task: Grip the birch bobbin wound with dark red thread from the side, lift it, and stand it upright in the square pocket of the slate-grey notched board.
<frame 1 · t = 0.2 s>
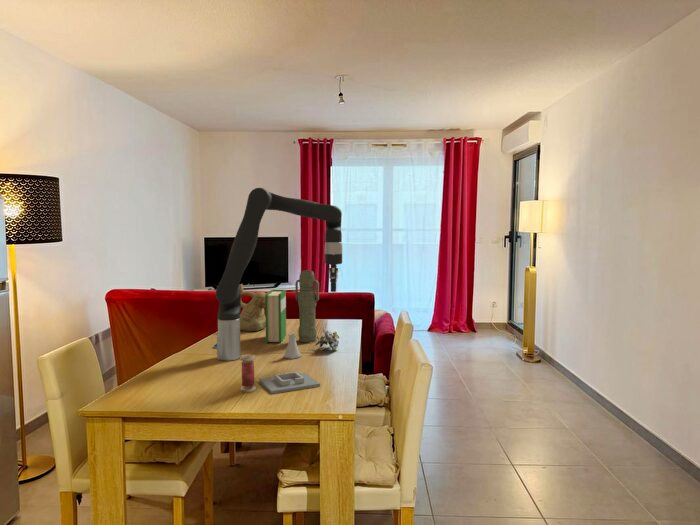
hand: (333, 290, 213), 29 cm above the table, tool pointing down, fingers open, 8 cm apart
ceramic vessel: (252, 329, 273), on the table
smartphone: (224, 345, 238), on the table
flask: (292, 357, 215), on the table
passion flower: (327, 350, 227), on the table
bobbin: (248, 390, 172), on the table
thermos: (307, 341, 245), on the table
board: (289, 383, 179), on the table
hardback book: (276, 339, 249), on the table
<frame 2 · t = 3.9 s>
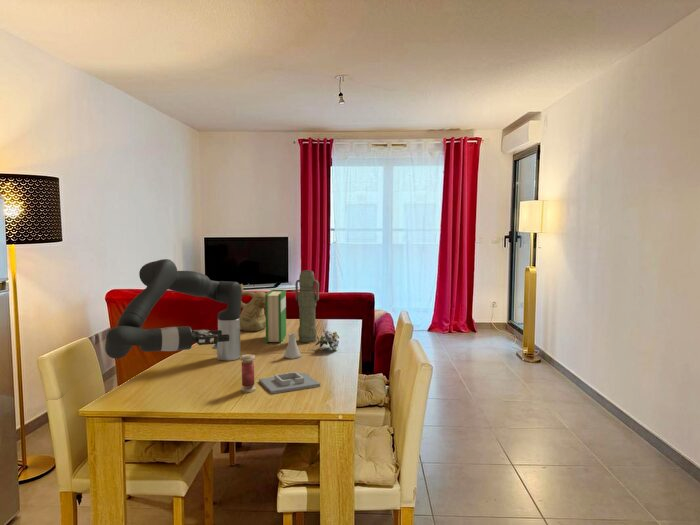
hand: (225, 335, 166), 20 cm above the table, tool horizontal, fingers open, 8 cm apart
nothing on the table moved.
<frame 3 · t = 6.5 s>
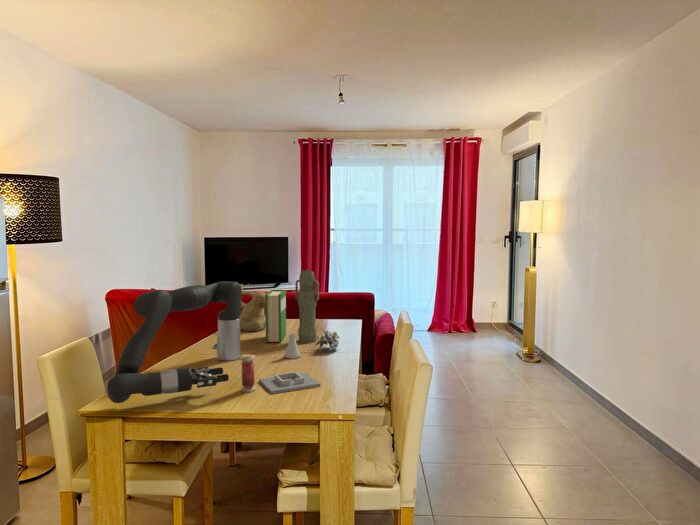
hand: (225, 373, 168), 7 cm above the table, tool horizontal, fingers open, 8 cm apart
nothing on the table moved.
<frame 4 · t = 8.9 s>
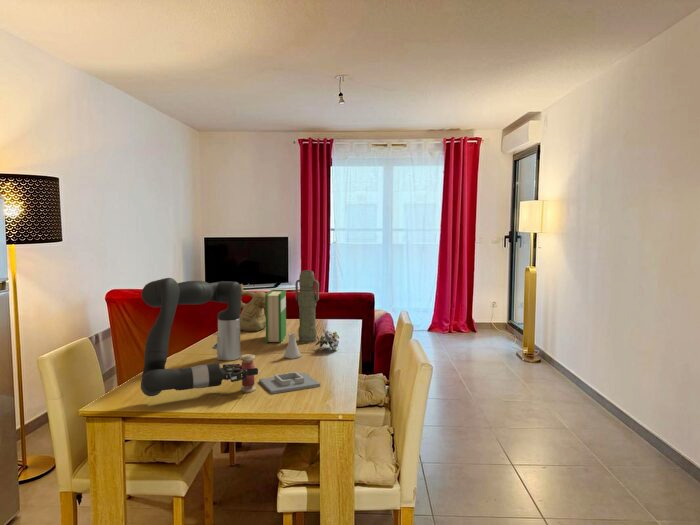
hand: (255, 369, 173), 7 cm above the table, tool horizontal, fingers closed on bobbin, 4 cm apart
bobbin: (248, 390, 172), on the table, touching gripper
everything else where it was.
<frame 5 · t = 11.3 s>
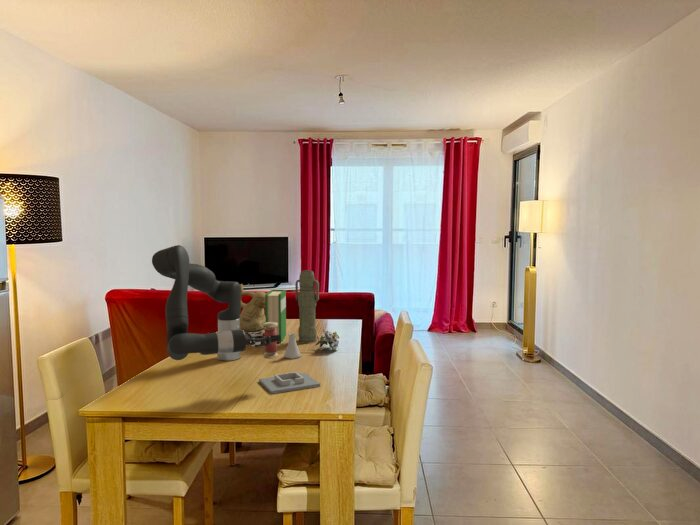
hand: (278, 336, 176), 18 cm above the table, tool horizontal, fingers closed on bobbin, 4 cm apart
bobbin: (270, 356, 175), point 11 cm above the table, touching gripper
everything else where it was.
when the fingers open (9 cm above the table, at t = 13.9 s): bobbin stays where it is, resting on board.
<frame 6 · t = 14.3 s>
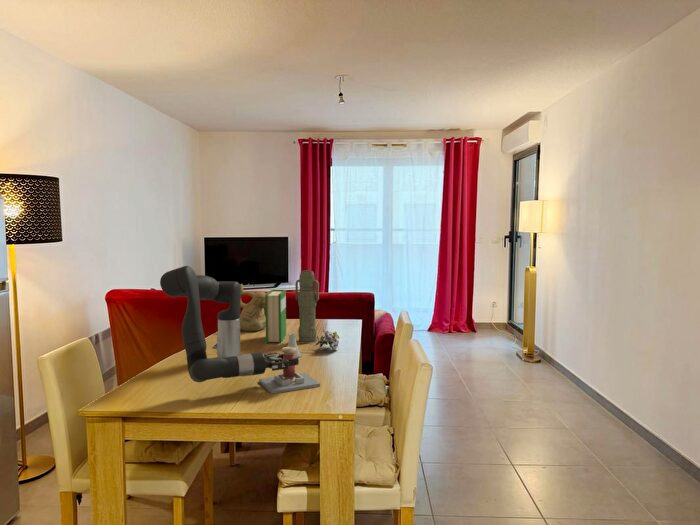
hand: (294, 358, 179), 9 cm above the table, tool horizontal, fingers open, 7 cm apart
bobbin: (289, 381, 178), point 1 cm above the table, touching board
everything else where it was.
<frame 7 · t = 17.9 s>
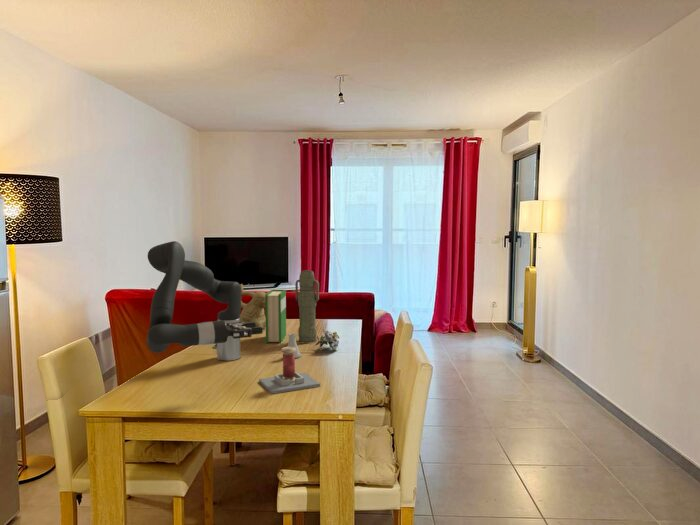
hand: (258, 327, 172), 22 cm above the table, tool horizontal, fingers open, 8 cm apart
nothing on the table moved.
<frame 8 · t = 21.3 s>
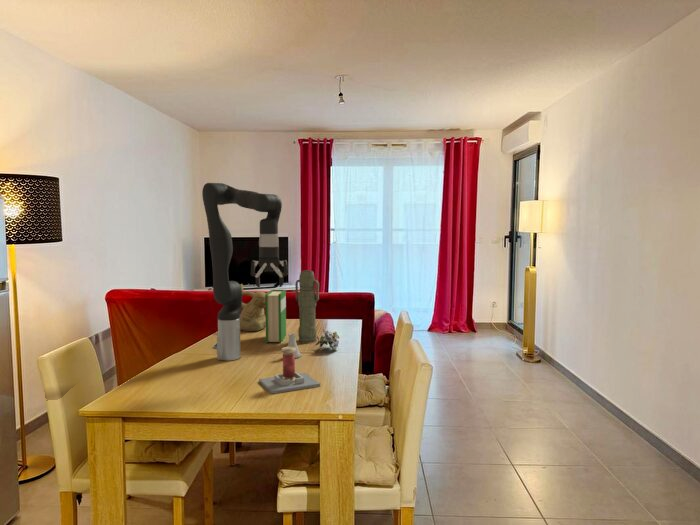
hand: (269, 286, 194), 33 cm above the table, tool pointing down, fingers open, 8 cm apart
nothing on the table moved.
at the end: bobbin 0.1 cm off-centre on the board, point 1.0 cm above the board's base; bobbin tilted 0°; the gripper is holding nothing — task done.
